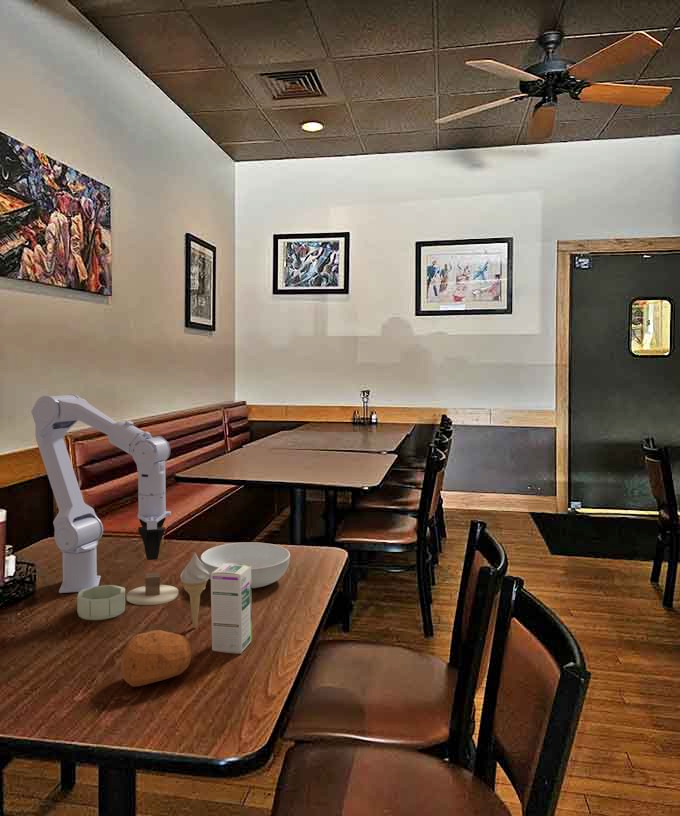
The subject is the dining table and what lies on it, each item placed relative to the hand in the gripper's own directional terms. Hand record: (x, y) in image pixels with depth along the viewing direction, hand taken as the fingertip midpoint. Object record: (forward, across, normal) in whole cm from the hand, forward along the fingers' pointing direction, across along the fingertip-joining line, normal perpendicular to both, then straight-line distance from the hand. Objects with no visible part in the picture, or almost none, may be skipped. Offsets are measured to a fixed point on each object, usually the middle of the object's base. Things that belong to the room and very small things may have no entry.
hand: (152, 554), depth 141 cm
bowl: (+9, -7, +10) cm, 15 cm away
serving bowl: (+10, +4, -21) cm, 23 cm away
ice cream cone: (+10, -20, -8) cm, 24 cm away
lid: (+10, 0, 0) cm, 10 cm away
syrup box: (+10, -30, -14) cm, 34 cm away
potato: (+10, -39, -1) cm, 40 cm away
